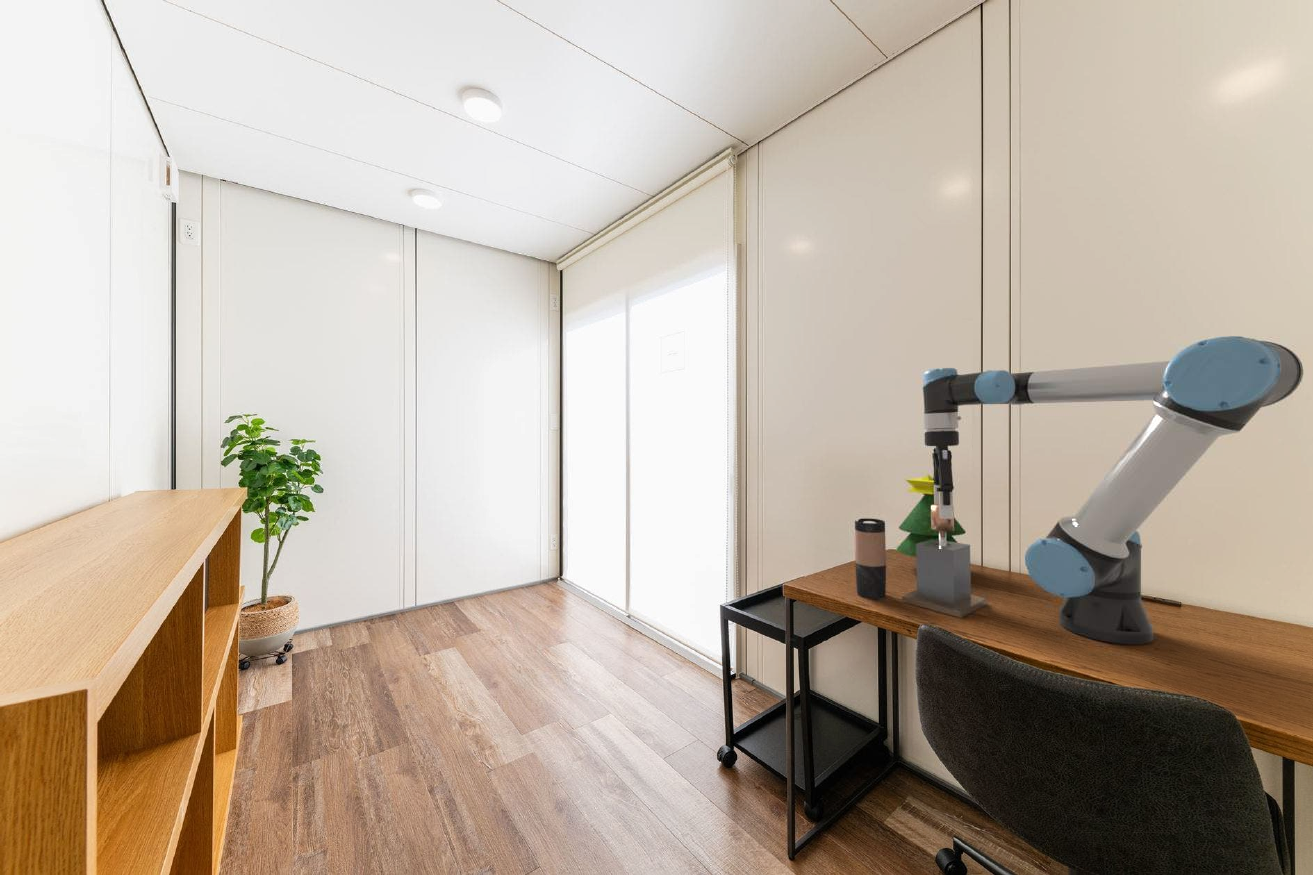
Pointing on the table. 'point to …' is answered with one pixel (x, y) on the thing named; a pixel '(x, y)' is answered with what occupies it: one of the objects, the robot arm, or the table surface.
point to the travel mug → (870, 558)
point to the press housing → (944, 579)
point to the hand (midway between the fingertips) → (943, 514)
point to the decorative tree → (923, 518)
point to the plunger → (941, 523)
